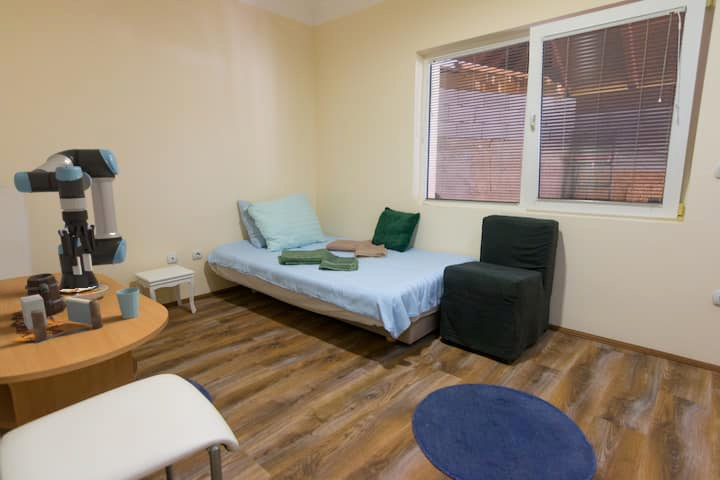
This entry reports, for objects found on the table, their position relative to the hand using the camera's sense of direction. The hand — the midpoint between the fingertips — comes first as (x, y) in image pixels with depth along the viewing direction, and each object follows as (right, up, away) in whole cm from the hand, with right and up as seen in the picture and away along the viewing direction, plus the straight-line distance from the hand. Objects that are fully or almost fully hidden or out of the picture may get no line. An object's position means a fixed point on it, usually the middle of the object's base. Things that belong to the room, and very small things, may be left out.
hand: (83, 272), depth 144 cm
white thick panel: (0, -18, -1) cm, 18 cm away
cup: (+14, -18, +7) cm, 23 cm away
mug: (-21, -17, +10) cm, 29 cm away
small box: (-16, -20, -1) cm, 26 cm away
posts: (+1, -21, -8) cm, 22 cm away
